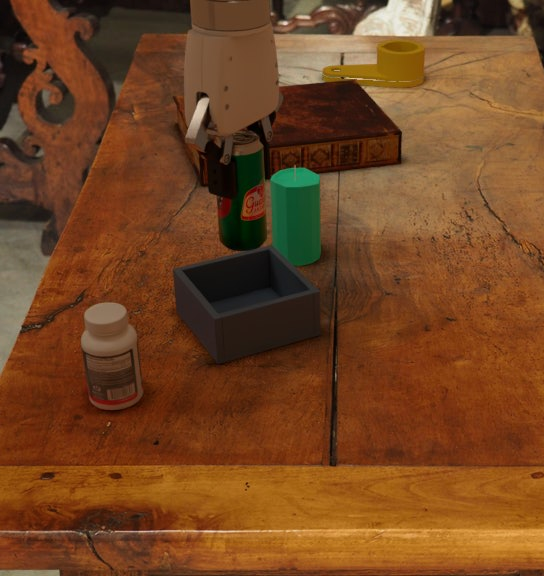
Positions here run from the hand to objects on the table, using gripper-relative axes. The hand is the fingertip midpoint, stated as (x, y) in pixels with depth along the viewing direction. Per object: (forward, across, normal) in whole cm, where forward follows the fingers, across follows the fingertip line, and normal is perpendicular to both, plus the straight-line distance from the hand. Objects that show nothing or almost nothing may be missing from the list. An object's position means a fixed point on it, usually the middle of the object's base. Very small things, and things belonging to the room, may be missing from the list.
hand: (240, 183), depth 111 cm
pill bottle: (+17, +18, -3) cm, 25 cm away
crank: (+17, -78, -30) cm, 86 cm away
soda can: (+7, 0, 0) cm, 7 cm away
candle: (+17, -16, -4) cm, 24 cm away
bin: (+17, 0, 0) cm, 17 cm away
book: (+17, -45, -26) cm, 55 cm away
